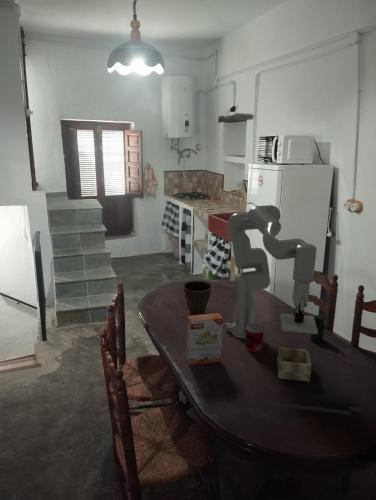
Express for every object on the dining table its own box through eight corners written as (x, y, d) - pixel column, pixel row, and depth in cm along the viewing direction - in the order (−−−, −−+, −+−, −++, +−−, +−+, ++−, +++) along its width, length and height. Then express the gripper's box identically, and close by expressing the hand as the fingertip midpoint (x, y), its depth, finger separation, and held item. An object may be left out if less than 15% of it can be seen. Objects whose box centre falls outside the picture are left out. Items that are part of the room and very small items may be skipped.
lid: (282, 330, 147) (284, 310, 145) (280, 316, 159) (282, 297, 157) (317, 334, 145) (319, 314, 143) (312, 319, 157) (315, 300, 155)
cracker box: (189, 366, 161) (190, 321, 155) (186, 359, 167) (187, 315, 161) (221, 362, 164) (223, 318, 159) (217, 355, 170) (218, 312, 164)
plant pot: (211, 319, 204) (212, 291, 200) (183, 318, 205) (183, 290, 200) (210, 307, 219) (211, 281, 215) (183, 307, 219) (184, 280, 215)
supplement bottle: (325, 344, 181) (328, 321, 178) (310, 342, 182) (312, 319, 179) (323, 337, 188) (326, 314, 184) (308, 335, 189) (311, 313, 186)
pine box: (278, 380, 153) (280, 362, 151) (276, 363, 164) (278, 347, 162) (309, 383, 151) (311, 365, 149) (305, 366, 163) (307, 349, 160)
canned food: (263, 346, 178) (264, 325, 175) (260, 355, 171) (262, 333, 168) (246, 343, 180) (248, 322, 177) (243, 352, 173) (244, 330, 170)
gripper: (291, 268, 155) (287, 310, 160) (294, 282, 139) (290, 328, 144) (310, 269, 154) (305, 312, 159) (316, 284, 138) (311, 330, 143)
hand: (298, 319), depth 151 cm, fingers closed on lid, 3 cm apart
